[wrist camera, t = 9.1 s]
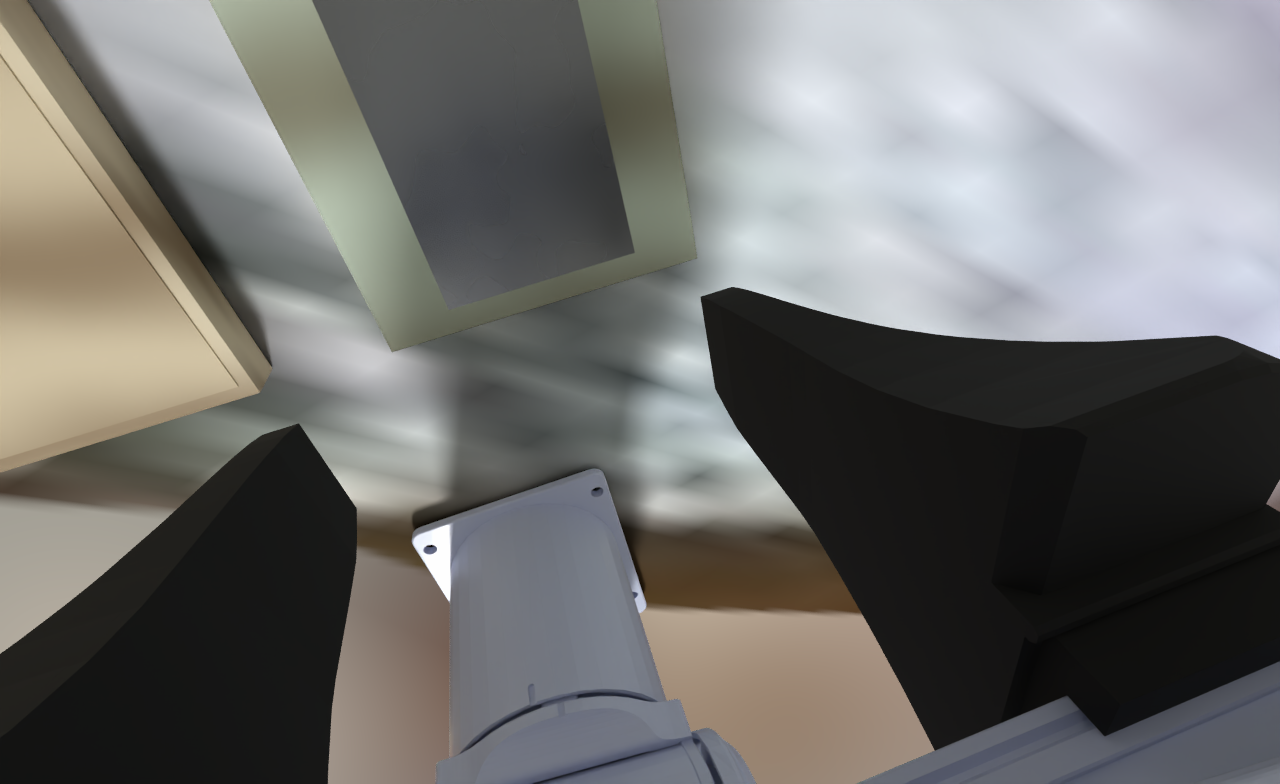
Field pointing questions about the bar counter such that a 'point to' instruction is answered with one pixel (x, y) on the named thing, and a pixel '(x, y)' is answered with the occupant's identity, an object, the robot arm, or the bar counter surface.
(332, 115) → the stand
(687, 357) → the bar counter surface
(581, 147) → the block
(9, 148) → the stand
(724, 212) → the bar counter surface
